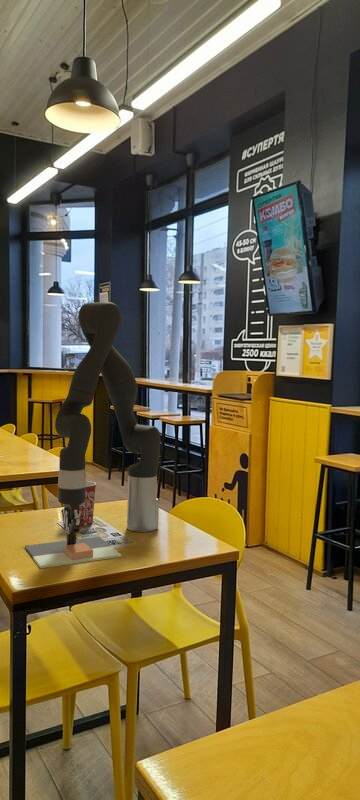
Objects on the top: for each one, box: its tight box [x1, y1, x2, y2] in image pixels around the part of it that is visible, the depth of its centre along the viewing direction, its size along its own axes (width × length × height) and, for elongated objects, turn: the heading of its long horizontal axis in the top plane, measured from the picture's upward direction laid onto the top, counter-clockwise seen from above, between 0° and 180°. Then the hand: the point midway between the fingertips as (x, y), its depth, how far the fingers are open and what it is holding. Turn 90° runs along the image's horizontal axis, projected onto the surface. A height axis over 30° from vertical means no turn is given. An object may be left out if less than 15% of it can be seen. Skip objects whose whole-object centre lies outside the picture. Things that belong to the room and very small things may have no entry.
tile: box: [63, 543, 93, 560], centre depth 151 cm, size 6×2×7 cm
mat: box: [24, 536, 122, 569], centre depth 155 cm, size 22×18×1 cm
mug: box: [79, 480, 97, 528], centre depth 185 cm, size 13×9×14 cm
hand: (71, 546), depth 156 cm, fingers closed
